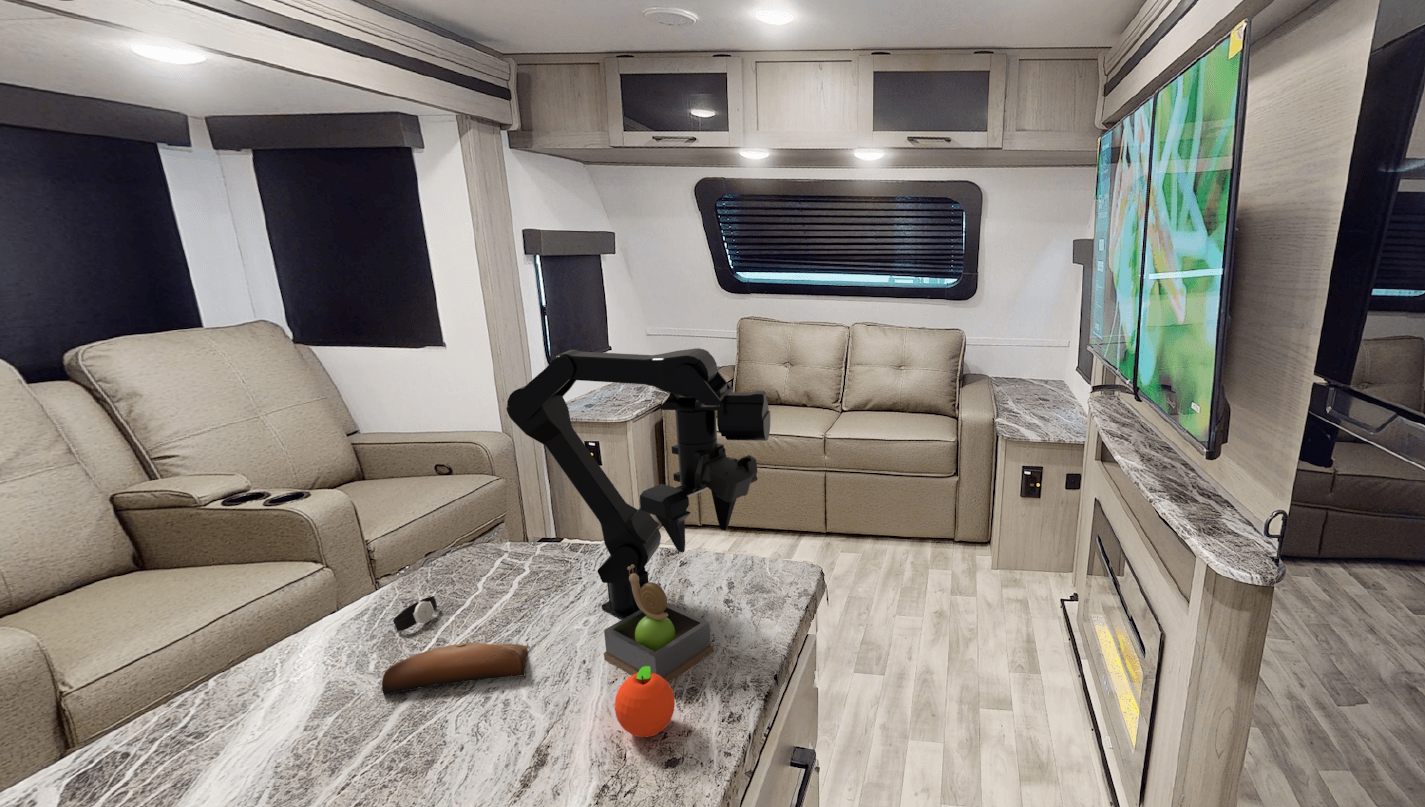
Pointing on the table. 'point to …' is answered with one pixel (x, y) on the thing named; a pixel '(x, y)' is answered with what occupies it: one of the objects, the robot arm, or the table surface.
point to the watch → (416, 614)
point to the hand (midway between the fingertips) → (703, 540)
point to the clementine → (644, 703)
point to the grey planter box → (670, 658)
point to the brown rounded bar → (455, 666)
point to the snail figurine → (651, 614)
